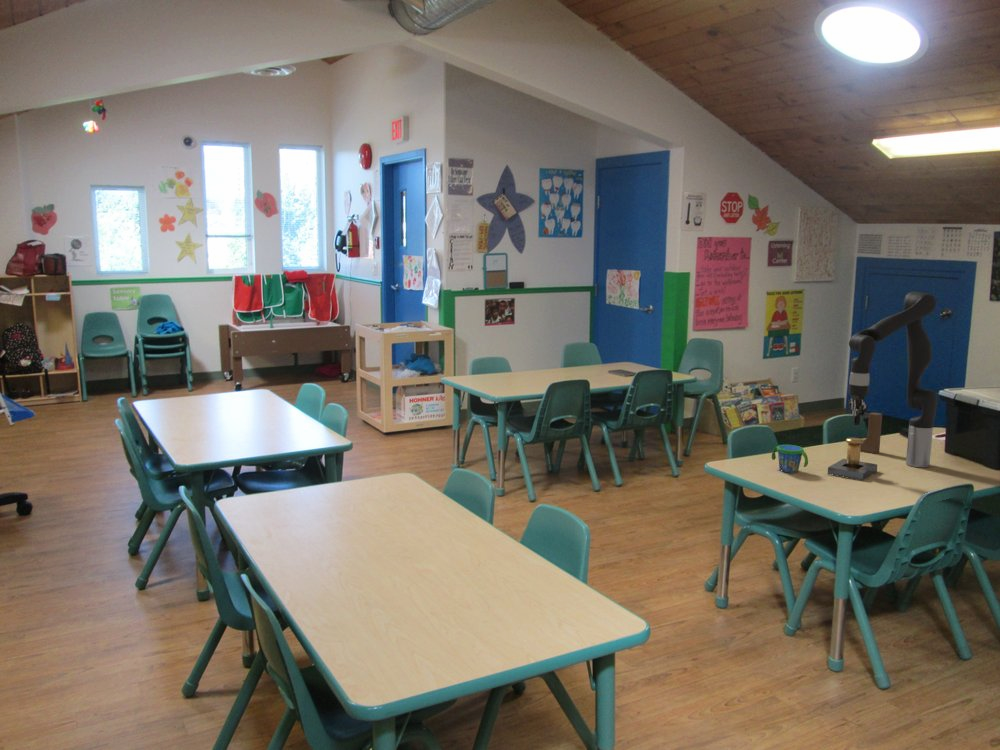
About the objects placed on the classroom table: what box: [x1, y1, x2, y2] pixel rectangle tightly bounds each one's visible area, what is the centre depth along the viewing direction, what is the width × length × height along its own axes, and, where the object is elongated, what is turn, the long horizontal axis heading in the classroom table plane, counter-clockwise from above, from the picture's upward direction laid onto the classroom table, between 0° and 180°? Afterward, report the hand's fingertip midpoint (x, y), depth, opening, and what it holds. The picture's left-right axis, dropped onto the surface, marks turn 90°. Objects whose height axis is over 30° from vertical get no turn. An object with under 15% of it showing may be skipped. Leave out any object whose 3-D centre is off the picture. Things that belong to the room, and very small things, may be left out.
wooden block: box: [860, 412, 883, 455], centre depth 386 cm, size 9×4×18 cm, turn 47°
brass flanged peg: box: [845, 437, 863, 469], centre depth 351 cm, size 7×7×14 cm
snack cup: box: [771, 444, 809, 473], centre depth 354 cm, size 16×10×10 cm
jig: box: [827, 458, 878, 481], centre depth 352 cm, size 18×14×3 cm
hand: (856, 424), depth 349 cm, fingers closed
